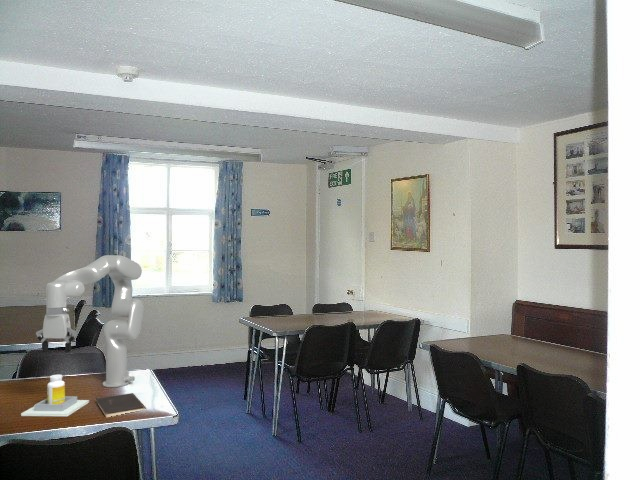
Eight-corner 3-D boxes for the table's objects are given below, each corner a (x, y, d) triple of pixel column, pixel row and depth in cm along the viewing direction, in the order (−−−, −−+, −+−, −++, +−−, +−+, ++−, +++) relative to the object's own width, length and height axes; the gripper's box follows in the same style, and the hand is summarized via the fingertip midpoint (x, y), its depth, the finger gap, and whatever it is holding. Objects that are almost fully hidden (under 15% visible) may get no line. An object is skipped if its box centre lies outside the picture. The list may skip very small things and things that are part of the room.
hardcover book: (105, 419, 204) (105, 413, 204) (95, 403, 224) (96, 398, 224) (146, 412, 213) (146, 406, 213) (133, 397, 232) (133, 392, 232)
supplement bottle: (68, 404, 218) (68, 374, 218) (56, 409, 211) (56, 378, 211) (56, 403, 220) (56, 373, 220) (43, 408, 213) (43, 377, 213)
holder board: (88, 402, 224) (88, 394, 224) (67, 416, 206) (67, 407, 206) (46, 401, 225) (46, 394, 225) (21, 415, 207) (21, 407, 207)
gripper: (81, 310, 219) (81, 350, 219) (41, 310, 220) (41, 349, 220) (72, 312, 211) (72, 354, 211) (31, 312, 212) (31, 353, 212)
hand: (56, 351), depth 216 cm, fingers open, 9 cm apart
